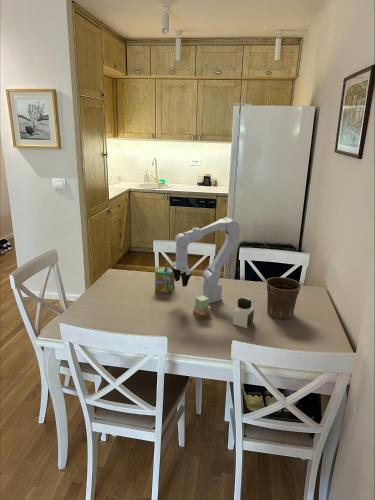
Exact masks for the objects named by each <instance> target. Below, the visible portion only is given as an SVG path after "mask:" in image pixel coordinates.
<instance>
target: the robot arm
mask: <svg viewBox="0 0 375 500" xmlns="http://www.w3.org/2000/svg"><path fill="white" fill-rule="evenodd" d="M240 230H241V227H240V224H239V223H238V221H235V220H233V218H231V217H229V216H224V218H220V219H218V220H217V221H214V222H212V223H210V224H208V225H206V226H204V227H202V228H200V227H192V229H191V230H188V231H184V232H183V233H182V232H181V233H178V234H176V236H175V238H174V242H175V244H176V246H175V261H172V267H170V268H171V269H172V271H173V274H174V277H175V282H178V281H180V280H181V284H182V287H184V288H185V287H187V286H188V283H189V280H190V279H191V276H192V275H193V273H192V272H191V271H192V270H190V268H189V266H188V247H189V245H190V244H192V243H194V242H197V241H199V240H201V239H203V237H204V236H205V235H207V234H211V233H214V232H216V231H222V232H225V236H226V239H225V241H224V242H223V244H222V246H220V247H221V248H220V249H219V251H218V252H217V254H216V256H215V257H214V260H213V261H212V263H211V264H209V265H208V266H207V267H206V268H205V269H204V270H203V271H202V273H201V277H202V278H203V282H202V283H203V285H202V295H204V296H205V297H207V298H208V299H209V304H212V303H216V302H219V301H222V300H223V299H222V293H223V287H222V284H221V282H220V277H221V276H222V269H223V267H224V265H225V263H226V261H227V260H228V258H229V257H230V255H231V253H232V252H233V250H234V248H235V247H236V245H237V243H238V241H239V237H240V236H239V235H240Z"/></svg>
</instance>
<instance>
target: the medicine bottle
mask: <svg viewBox="0 0 375 500" xmlns="http://www.w3.org/2000/svg"><path fill="white" fill-rule="evenodd" d="M254 312H255V308H253V307H252V300H251V299H250V298H247V297H240V298H238V299H237V307H236V308H235V309H234V310H233V314H232V315H233V316H232V317H233V318H232V324H233V326H234V325H235V326H238V327H241V328H245V329H248V328H249V327H250V326H251V325H252V324H253V322H254V314H255V313H254Z"/></svg>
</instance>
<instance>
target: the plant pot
mask: <svg viewBox="0 0 375 500" xmlns="http://www.w3.org/2000/svg"><path fill="white" fill-rule="evenodd" d="M265 284H266V291H267V297H266V298H267V302H266V303H267V308H266V309H267V310H266V311H267V314H268V315H269V316H270V317H272V318H274V319H277V320H278V319H282V320H289V319H291V318H293V316H294V312H295V306H296V304H297V298H298V295H299V293H300V290H301V288H302V284H301V282H299V281H297V280H296V279H292V278H288V277H284V276H283V277H280V276H279V277H278V276H275V277H269V278H267V279H266V280H265Z"/></svg>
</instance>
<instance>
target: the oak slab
mask: <svg viewBox="0 0 375 500" xmlns="http://www.w3.org/2000/svg"><path fill="white" fill-rule="evenodd" d="M193 307H194V309H193V310H194V311H195V312H197V313H199V314H201V315H204V314H207V313H209V312H210V313H211V311H212V310H211V306H210V305H209V308H205V309H202V310H200V309H199V308H197V307H196V306H193Z"/></svg>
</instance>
